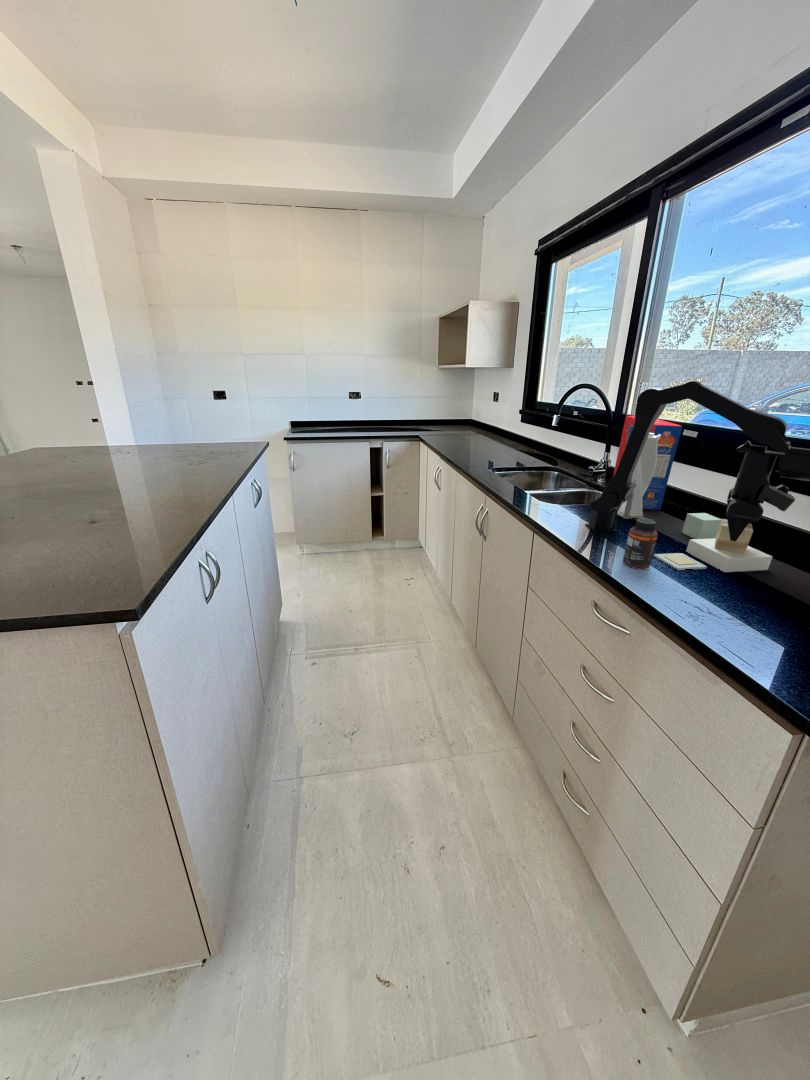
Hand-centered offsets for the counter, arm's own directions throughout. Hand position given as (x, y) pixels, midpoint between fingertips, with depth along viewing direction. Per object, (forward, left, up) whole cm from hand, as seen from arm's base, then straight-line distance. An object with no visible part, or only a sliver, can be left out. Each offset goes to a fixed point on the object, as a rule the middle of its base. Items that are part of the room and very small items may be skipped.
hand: (732, 535), depth 105 cm
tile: (-13, 0, -7) cm, 15 cm away
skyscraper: (-1, +36, -7) cm, 37 cm away
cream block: (0, 0, -7) cm, 7 cm away
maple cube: (0, 0, -3) cm, 3 cm away
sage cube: (+7, +16, -7) cm, 19 cm away
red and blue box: (+14, +54, -7) cm, 56 cm away
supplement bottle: (-25, 0, -7) cm, 26 cm away
